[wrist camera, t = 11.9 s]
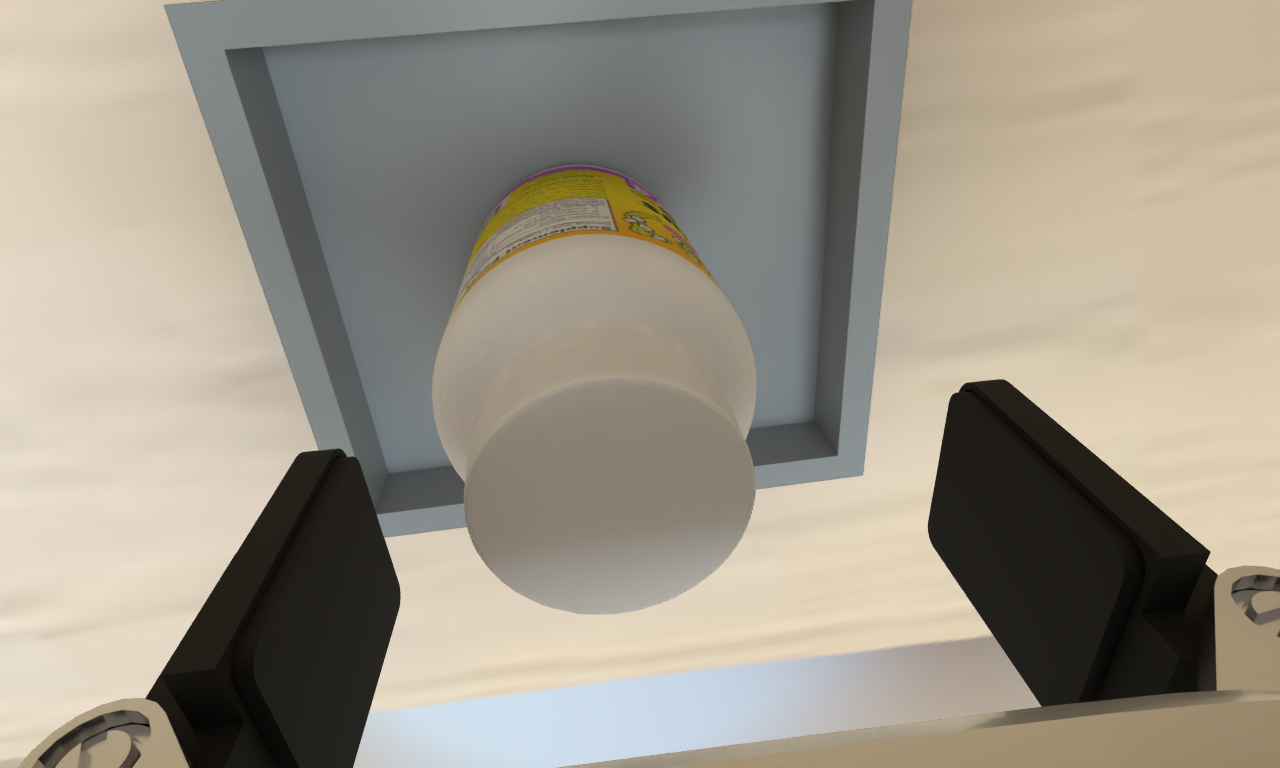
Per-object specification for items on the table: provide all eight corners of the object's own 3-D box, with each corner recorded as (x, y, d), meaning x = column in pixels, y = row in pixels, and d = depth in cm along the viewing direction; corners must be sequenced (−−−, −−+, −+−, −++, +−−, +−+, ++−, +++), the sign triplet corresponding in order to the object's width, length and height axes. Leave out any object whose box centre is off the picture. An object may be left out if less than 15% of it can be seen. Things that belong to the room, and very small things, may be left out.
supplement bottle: (700, 326, 24) (840, 601, 12) (517, 380, 24) (490, 701, 12) (652, 129, 20) (783, 256, 9) (442, 192, 21) (312, 395, 9)
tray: (867, -41, 20) (917, -51, 17) (832, 431, 27) (863, 475, 24) (219, 7, 18) (163, 4, 16) (371, 489, 26) (351, 541, 23)
